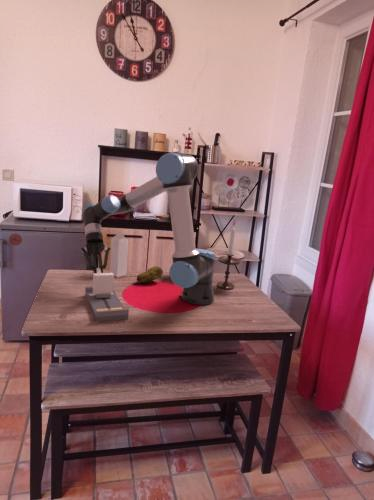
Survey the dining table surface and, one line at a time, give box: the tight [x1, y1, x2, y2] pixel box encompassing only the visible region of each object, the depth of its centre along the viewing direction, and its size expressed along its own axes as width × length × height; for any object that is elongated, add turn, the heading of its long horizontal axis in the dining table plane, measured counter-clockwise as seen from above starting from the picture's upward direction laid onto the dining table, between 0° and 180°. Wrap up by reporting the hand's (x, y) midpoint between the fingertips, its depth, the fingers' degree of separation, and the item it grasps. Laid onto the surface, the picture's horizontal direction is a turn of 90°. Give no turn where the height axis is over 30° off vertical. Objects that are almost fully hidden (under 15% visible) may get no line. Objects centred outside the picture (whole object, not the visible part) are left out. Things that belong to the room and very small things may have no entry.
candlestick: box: [216, 219, 241, 291], centre depth 185 cm, size 11×11×35 cm
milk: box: [109, 231, 129, 278], centre depth 187 cm, size 6×6×22 cm
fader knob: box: [92, 272, 115, 298], centre depth 155 cm, size 5×8×10 cm, turn 114°
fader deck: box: [84, 285, 130, 323], centre depth 151 cm, size 26×12×4 cm, turn 24°
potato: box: [136, 265, 164, 284], centre depth 183 cm, size 8×13×8 cm, turn 99°
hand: (99, 283), depth 157 cm, fingers closed
